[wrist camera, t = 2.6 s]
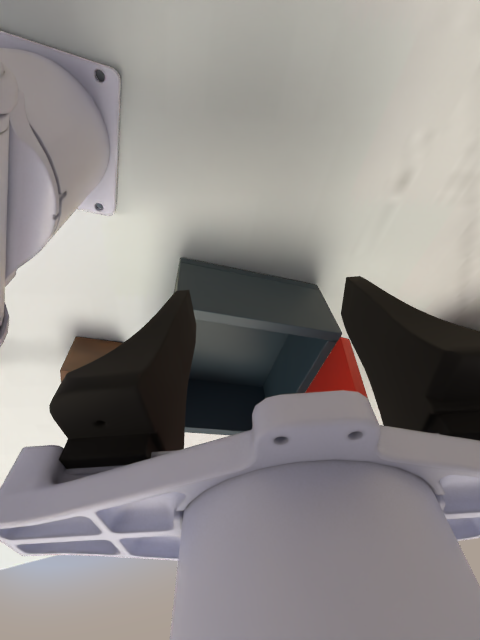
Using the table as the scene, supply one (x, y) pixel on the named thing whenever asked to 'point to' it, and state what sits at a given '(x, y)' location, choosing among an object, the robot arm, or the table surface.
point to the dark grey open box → (250, 342)
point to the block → (85, 353)
